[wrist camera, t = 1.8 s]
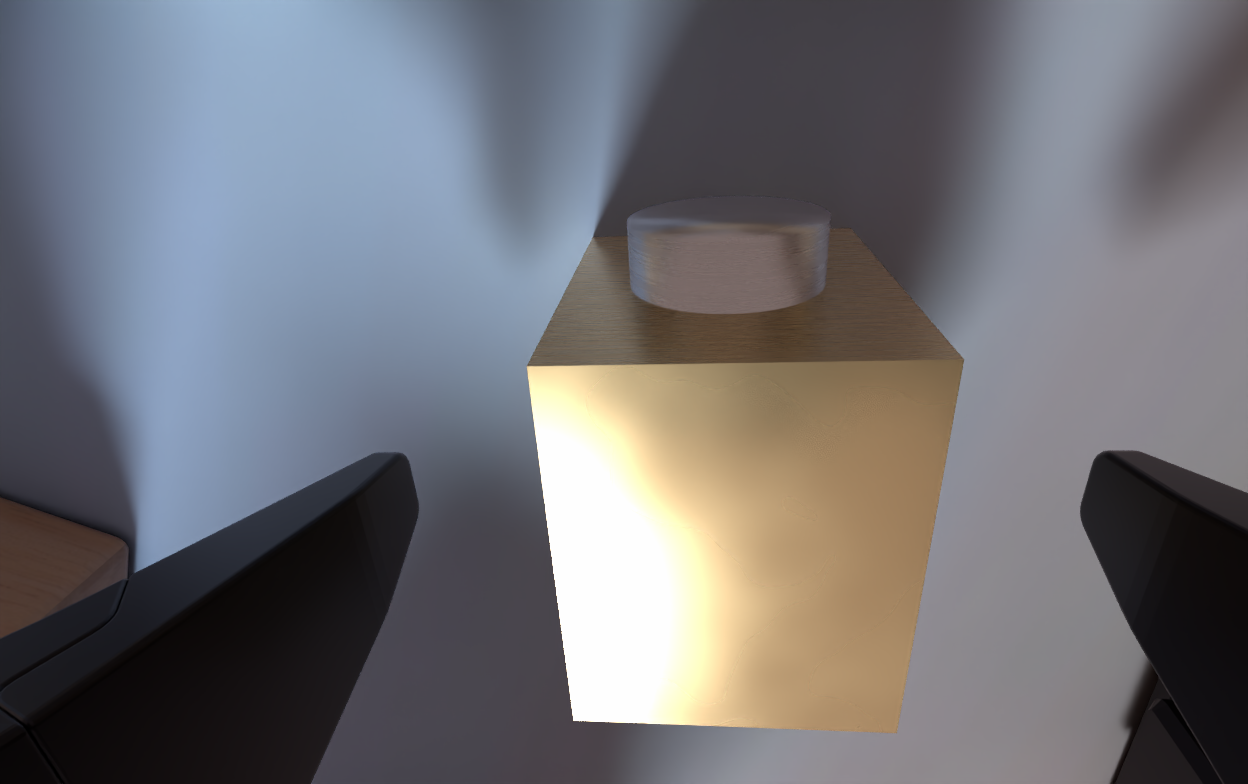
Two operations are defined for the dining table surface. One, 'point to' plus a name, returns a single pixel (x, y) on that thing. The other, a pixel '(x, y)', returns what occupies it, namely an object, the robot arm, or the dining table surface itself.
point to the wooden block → (51, 564)
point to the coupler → (740, 469)
